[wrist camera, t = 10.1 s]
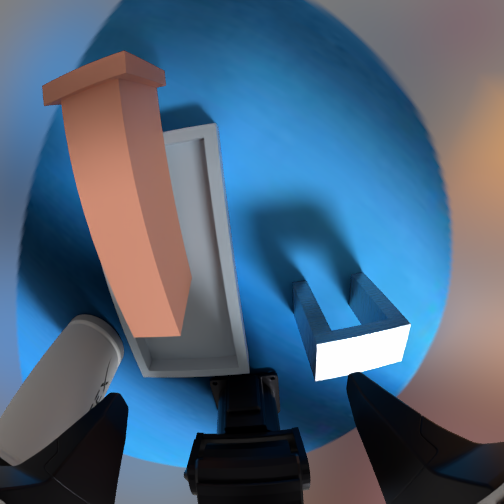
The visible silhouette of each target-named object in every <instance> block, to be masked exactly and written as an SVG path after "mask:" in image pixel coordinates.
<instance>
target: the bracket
mask: <svg viewBox="0 0 504 504" xmlns="http://www.w3.org/2000/svg"><path fill="white" fill-rule="evenodd" d="M292 283H293V306H294V317H295V320H296V323H297V326H298V329H299V332H300V335H301V338H302V341H303V344H304V347H305V350H306V354H307V357H308V360H309V363H310V366H311V369H312V372H313V376H314V379H315V381H319V380H325V379H330V378H335V377H339V376H344V375H348V374H350V373H353V372H357V371H359V372H361V371H365V370H369V369H373V368H377V367H380V366H384V365H388V364H391V363H394V362H398V361H401V360H402V356H403V353H404V349H405V345H406V341H407V337H408V333H409V329H410V325H411V324H410V323H409V322H408V320H407V319H406V318H405V317H404V316H403V315H402V314H401V313H400V311H399V310H398V309H397V308H396V307H395V306H394V305H393V304H392V303H391V302H390V300H389V299H388V298H387V297H386V296H385V295H384V294H383V293H382V292H381V291H380V290H379V289H378V288H377V287H376V285H375V284H374V283H373V282H372V281H371V280H370V279H369V278H368V277H367V276H366V275H365V274H364V273H356V274H351V284H350V301H349V306H350V308H351V309H352V311H353V312H354V314H355V315H356V317H357V318H358V320H359V321H360V323H361V324H362V325H359V326H354V327H349V328H344V329H338V330H333V331H331V329H330V327H329V325H328V323H327V321H326V319H325V317H324V315H323V313H322V311H321V309H320V307H319V305H318V303H317V301H316V299H315V297H314V295H313V293H312V291H311V289H310V287H309V285H308V283H307V281H299V282H292Z"/></svg>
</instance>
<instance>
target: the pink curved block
mask: <svg viewBox="0 0 504 504" xmlns="http://www.w3.org/2000/svg"><path fill="white" fill-rule="evenodd" d="M162 86H166V81H165V71H164V70H162V69H160V68H158V67H156V66H154V65H152V64H151V63H149V62H147V61H145V60H143V59H141V58H139V57H137V56H135V55H133V54H131V53H128V52H126V51H121V52H118V53H116V54H113V55H110V56H107V57H104V58H102V59H99V60H97V61H94V62H92V63H89V64H87V65H84V66H82V67H80V68H77V69H75V70H73V71H71V72H69V73H67V74H65V75H63V76H60V77H59V78H57V79H55V80H52V81H51V82H49V83H47V84H45V85H43V86H42V89H43V100H44V106H48V105H59V104H61V105H62V113H63V120H64V127H65V133H66V139H67V144H68V149H69V154H70V159H71V164H72V168H73V173H74V177H75V181H76V185H77V189H78V193H79V197H80V200H81V204H82V207H83V211H84V214H85V217H86V221H87V224H88V227H89V230H90V233H91V236H92V239H93V242H94V245H95V248H96V250H97V253H98V256H99V259H100V261H101V264H102V267H103V269H104V272H105V274H106V277H107V279H108V282H109V284H110V286H111V289H112V291H113V293H114V296H115V298H116V300H117V303H118V305H119V307H120V309H121V311H122V314H123V316H124V318H125V320H126V322H127V324H128V326H129V328H130V330H131V332H132V334H133V336H134V338H135V337H168V336H181V331H182V325H183V320H184V315H185V310H186V305H187V299H188V294H189V290H190V285H191V280H192V275H191V271H190V267H189V263H188V259H187V255H186V251H185V246H184V242H183V237H182V233H181V228H180V224H179V219H178V214H177V210H176V205H175V200H174V195H173V190H172V184H171V179H170V174H169V168H168V162H167V156H166V150H165V144H164V138H163V131H162V125H161V118H160V111H159V103H158V95H157V87H162Z"/></svg>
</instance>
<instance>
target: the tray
mask: <svg viewBox="0 0 504 504" xmlns="http://www.w3.org/2000/svg"><path fill="white" fill-rule="evenodd" d="M163 138H164V144H165V150H166V156H167V162H168V168H169V174H170V179H171V184H172V190H173V195H174V200H175V205H176V210H177V214H178V219H179V224H180V228H181V233H182V237H183V242H184V246H185V251H186V255H187V259H188V263H189V267H190V271H191V275H192V280H191V285H190V290H189V294H188V299H187V305H186V310H185V315H184V320H183V325H182V331H181V336H168V337H135V338H134V336H133V334H132V332H131V330H130V328H129V326H128V324H127V322H126V320H125V318H124V316H123V314H122V311H121V309H120V307H119V305H118V303H117V300H116V298H115V296H114V293H113V291H112V289H111V286H110V284H109V282H108V279H107V277H106V274H105V272H104V269H103V272H104V275H105V278H106V282H107V285H108V288H109V291H110V294H111V297H112V300H113V303H114V306H115V309H116V311H117V314H118V317H119V320H120V322H121V325H122V328H123V330H124V333H125V335H126V338H127V340H128V343H129V345H130V348H131V350H132V352H133V355H134V357H135V359H136V361H137V364H138V366H139V368H140V370H141V372H142V375H143V377H203V376H221V375H235V374H246V373H250V371H249V356H248V349H247V342H246V336H245V329H244V322H243V315H242V309H241V302H240V295H239V288H238V280H237V273H236V266H235V259H234V251H233V244H232V236H231V228H230V221H229V213H228V205H227V197H226V189H225V181H224V172H223V164H222V155H221V147H220V138H219V129H218V126H217V124H216V123H213V124H206V125H199V126H193V127H187V128H182V129H176V130H171V131H166V132H163ZM101 265H102V264H101ZM102 268H103V267H102Z"/></svg>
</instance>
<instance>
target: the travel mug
mask: <svg viewBox="0 0 504 504" xmlns="http://www.w3.org/2000/svg"><path fill="white" fill-rule="evenodd" d="M123 355H124V348H123V344H122V341H121V339H120V337H119V335H118V334H117V332H116V331H115V330H114V329H113V328H112V327H111V326H110V325H109V324H108V323H106V322H105V321H103V320H102V319H100V318H98V317H96V316H92V315H87V314H83V315H78V316H76V317H75V318H73V319H72V321H71V322H70V323H69V324H68V325H67V327H66V328H65V329H64V330H63V331H62V333H61V334H60V335H59V336H58V338H57V339H56V340H55V341H54V343H53V344H52V345H51V346H50V348H49V349H48V350H47V351H46V353H45V354H44V355H43V357H42V358H41V359H40V361H39V362H38V363H37V365H36V366H35V367H34V369H33V370H32V372H31V373H30V374H29V376H28V377H27V378H26V380H25V381H24V383H23V384H22V386H21V387H20V389H19V390H18V391H17V393H16V395H15V396H14V397H13V399H12V401H11V402H10V404H9V405H8V407H7V408H6V410H5V411H4V413H3V415H2V416H1V418H0V466H16V465H19V464H21V463H23V462H24V461H26V460H27V459H29V458H30V457H32V456H33V455H35V454H36V453H38V452H39V451H41V450H42V449H44V448H45V447H46V446H48V445H49V444H50V443H51V442H53V441H54V440H55V439H56V438H58V437H59V436H60V435H61V434H62V433H63V432H65V431H66V430H67V429H68V428H69V427H71V426H72V425H73V424H74V423H75V422H76V421H78V420H79V419H80V418H81V417H82V416H84V415H85V414H86V413H87V412H88V411H89V410H91V409H92V408H93V407H94V406H95V405H97V404H98V403H99V402H100V401H101V400H102V399H104V396H105V394H106V392H107V390H108V388H109V385H110V383H111V381H112V379H113V377H114V375H115V372H116V370H117V368H118V366H119V364H120V362H121V360H122V358H123Z"/></svg>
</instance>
